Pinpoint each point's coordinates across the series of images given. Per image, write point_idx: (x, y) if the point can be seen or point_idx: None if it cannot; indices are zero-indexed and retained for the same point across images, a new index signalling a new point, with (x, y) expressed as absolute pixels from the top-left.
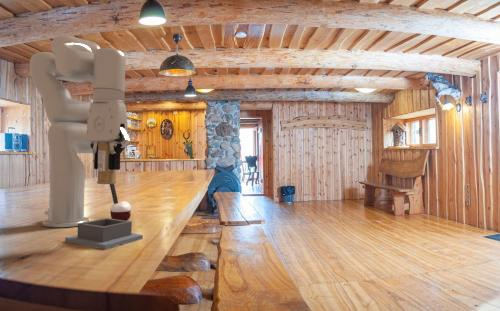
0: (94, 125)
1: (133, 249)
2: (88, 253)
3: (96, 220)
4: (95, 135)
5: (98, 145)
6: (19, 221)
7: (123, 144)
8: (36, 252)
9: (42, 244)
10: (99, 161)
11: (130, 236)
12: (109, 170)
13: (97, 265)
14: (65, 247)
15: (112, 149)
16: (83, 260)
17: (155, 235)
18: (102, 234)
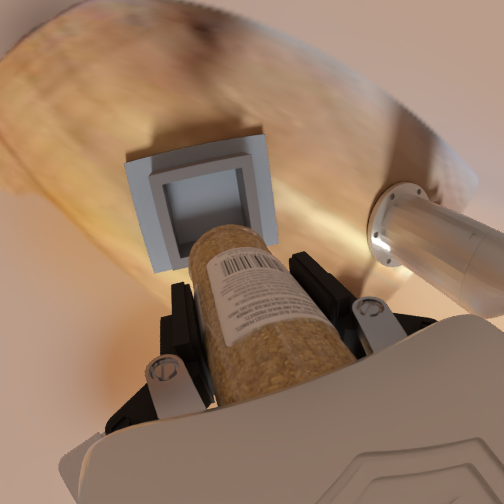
0: (495, 477)
1: (88, 208)
2: (125, 123)
3: (255, 211)
4: (399, 397)
5: (340, 351)
6: (458, 180)
7: (86, 442)
8: (219, 56)
9: (275, 92)
10: (252, 272)
11: (158, 245)
12: (195, 287)
13: (47, 109)
14: (211, 110)
15: (162, 381)
16: (89, 98)
17: (164, 303)
18: (152, 173)
